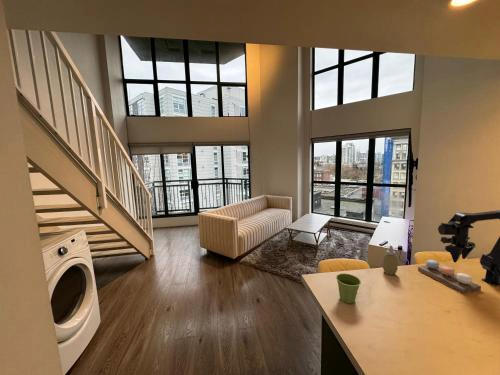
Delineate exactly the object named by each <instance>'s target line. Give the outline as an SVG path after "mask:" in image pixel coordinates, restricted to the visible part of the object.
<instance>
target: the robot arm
mask: <svg viewBox="0 0 500 375" xmlns="http://www.w3.org/2000/svg"><path fill="white" fill-rule="evenodd" d="M491 220H499V221H500V209H496V210H492V211H491V210H490V211H483V212H482V211H481V212H474V213H471V212H469V213H468V212H455V213H454V215H453V216H452V217H451V218H450V219H449V221H448V222H447V223H446V222H441V223H440V225H438V227H437V231H438V233H439V235H441V236H442V237H441V238H440V242H442V244H444V245H445V244H448V245H446V246H445V247H444V250H445V251H446V252H447V253H449V254H450V256H451V258H452V261H453V263H457V262H458V261H459V259H460V257H461V258H462V259H463V260H466V258H467V257H468V256H469V255H470V253H471V252H472V251H474V249H475V248H476V243H475V242H474V241H469V240H470V238H471V237H469V231H470V229H475V228H474V226H473V225H474V224H475V223H477V222H481V221H491ZM472 224H473V225H472ZM444 235H445V236H444ZM478 260H479V264H480V265H481V267H482V269H483V270H486V271H485V276H484V278H481V281H484V282H486V283H488V284H490V285H493V286H495V287H498V286H500V236H498V239H497V241H495V243H494V245H493V247H492V248H491V250H490V252H489V253H487V254H485V253H483V254H482V255H481V257H480V258H479V259H478Z"/></svg>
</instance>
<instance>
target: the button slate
mask: <svg viewBox="0 0 500 375" xmlns="http://www.w3.org/2000/svg"><path fill="white" fill-rule="evenodd" d="M425 266H428V267H430V268H431V269H432V270H434V269H438V268H439V267H440V262H439V261H438V260H435V259H434V260H433V259H426V265H425Z"/></svg>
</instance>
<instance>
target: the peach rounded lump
mask: <svg viewBox="0 0 500 375" xmlns="http://www.w3.org/2000/svg"><path fill="white" fill-rule="evenodd" d="M440 268H441V271H440V272H441V273H442V274H444V275H445V276H446V277H449V276H454V274H455V273H456V270H455V269H454V268H453V267H450V266H446V265H442V266H440Z"/></svg>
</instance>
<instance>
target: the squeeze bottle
mask: <svg viewBox="0 0 500 375" xmlns="http://www.w3.org/2000/svg"><path fill="white" fill-rule="evenodd" d="M385 251H386V252H385V253H384V255H383V261H382V269H383V272H384V273H385V274H387V275H389V276H395V275H396V273H397V272H398V270H399V269H398V257H397V255H396V251H395V250H394V248H393V245H389V248H388V249H387V250H385Z"/></svg>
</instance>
